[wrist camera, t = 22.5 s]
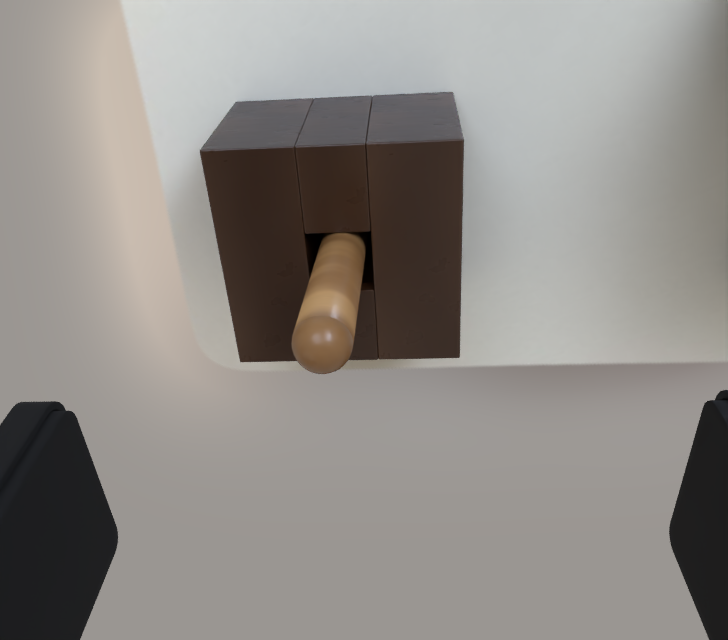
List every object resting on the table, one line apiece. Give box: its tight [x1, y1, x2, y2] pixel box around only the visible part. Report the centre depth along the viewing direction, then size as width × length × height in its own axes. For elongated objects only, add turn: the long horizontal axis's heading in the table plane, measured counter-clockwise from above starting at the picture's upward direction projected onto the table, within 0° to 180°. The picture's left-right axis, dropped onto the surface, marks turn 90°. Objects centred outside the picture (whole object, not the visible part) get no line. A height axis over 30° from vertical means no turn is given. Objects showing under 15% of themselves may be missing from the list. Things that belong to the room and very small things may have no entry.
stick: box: [291, 232, 368, 374], centre depth 29 cm, size 2×2×16 cm
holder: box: [200, 92, 464, 362], centre depth 33 cm, size 10×10×7 cm
